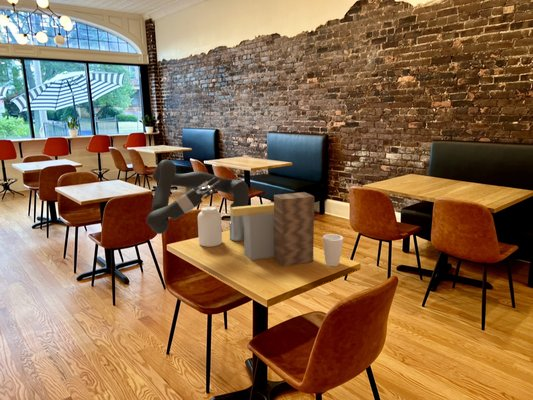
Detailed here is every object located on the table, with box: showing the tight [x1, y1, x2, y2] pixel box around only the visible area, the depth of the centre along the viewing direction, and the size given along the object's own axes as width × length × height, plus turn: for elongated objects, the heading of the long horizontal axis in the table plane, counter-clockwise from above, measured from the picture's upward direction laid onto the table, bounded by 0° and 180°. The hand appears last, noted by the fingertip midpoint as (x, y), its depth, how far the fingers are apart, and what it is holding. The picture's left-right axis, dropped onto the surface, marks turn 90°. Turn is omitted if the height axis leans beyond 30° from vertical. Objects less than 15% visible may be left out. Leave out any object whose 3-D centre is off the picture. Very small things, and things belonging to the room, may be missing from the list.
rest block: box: [243, 212, 274, 261], centre depth 197 cm, size 16×10×22 cm, turn 111°
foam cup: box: [322, 233, 344, 267], centre depth 186 cm, size 10×9×13 cm
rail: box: [230, 202, 274, 216], centre depth 193 cm, size 26×4×4 cm, turn 110°
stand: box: [273, 191, 315, 267], centre depth 188 cm, size 16×10×32 cm, turn 111°
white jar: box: [197, 206, 223, 248], centre depth 215 cm, size 12×12×20 cm
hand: (219, 180), depth 179 cm, fingers open, 8 cm apart
